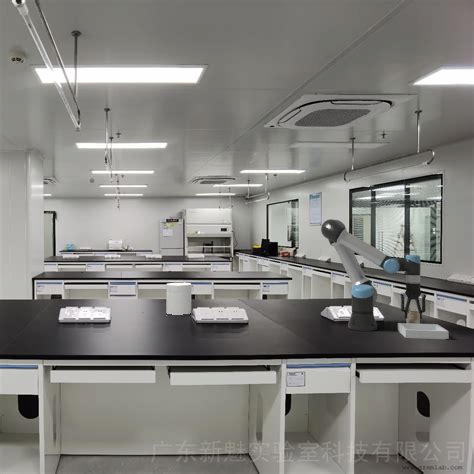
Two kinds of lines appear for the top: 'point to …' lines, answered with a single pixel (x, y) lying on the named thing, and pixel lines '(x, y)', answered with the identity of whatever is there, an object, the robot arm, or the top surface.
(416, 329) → the tray
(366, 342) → the top surface
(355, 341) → the top surface
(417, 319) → the tan cylinder
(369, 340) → the top surface
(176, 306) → the canister
